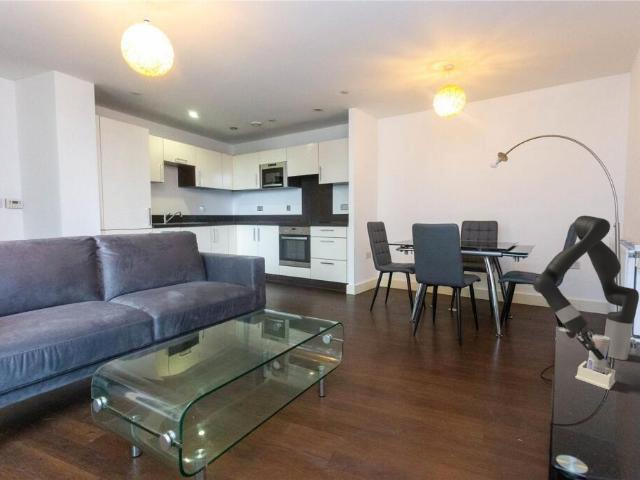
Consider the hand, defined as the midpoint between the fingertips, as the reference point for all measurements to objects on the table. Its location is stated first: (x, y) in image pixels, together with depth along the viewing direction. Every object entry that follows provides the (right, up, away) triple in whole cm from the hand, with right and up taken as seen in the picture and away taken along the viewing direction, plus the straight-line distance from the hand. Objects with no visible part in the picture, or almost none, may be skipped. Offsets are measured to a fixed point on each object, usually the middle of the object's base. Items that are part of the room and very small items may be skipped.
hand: (604, 357), depth 130 cm
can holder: (-2, -10, +2) cm, 10 cm away
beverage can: (-2, -7, +2) cm, 8 cm away
